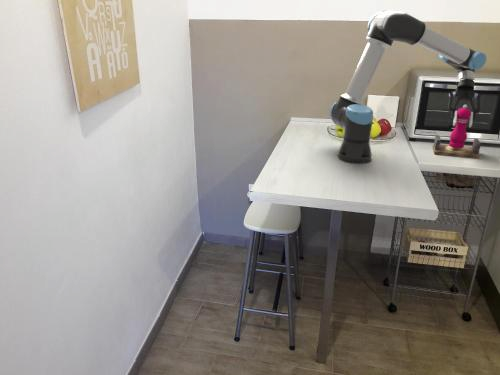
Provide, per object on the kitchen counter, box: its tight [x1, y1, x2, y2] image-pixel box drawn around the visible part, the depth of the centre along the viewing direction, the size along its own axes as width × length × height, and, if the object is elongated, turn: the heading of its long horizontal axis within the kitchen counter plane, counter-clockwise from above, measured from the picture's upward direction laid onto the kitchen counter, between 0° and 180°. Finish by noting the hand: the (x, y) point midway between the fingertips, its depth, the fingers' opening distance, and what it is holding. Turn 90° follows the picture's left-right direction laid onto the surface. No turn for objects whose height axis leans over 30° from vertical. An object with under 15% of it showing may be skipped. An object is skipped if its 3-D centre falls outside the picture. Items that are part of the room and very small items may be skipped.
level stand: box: [431, 134, 482, 160], centre depth 192 cm, size 19×12×6 cm, turn 71°
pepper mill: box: [448, 104, 471, 148], centre depth 188 cm, size 7×7×20 cm
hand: (462, 125), depth 184 cm, fingers closed on pepper mill, 6 cm apart
